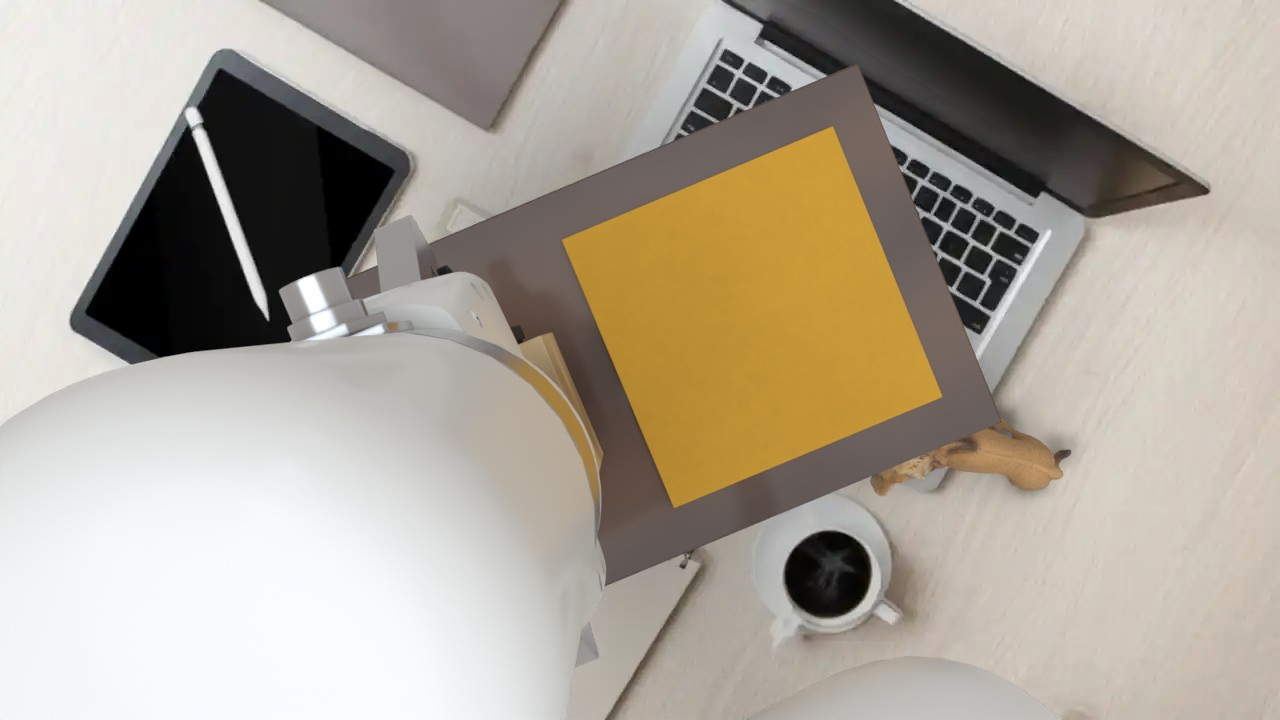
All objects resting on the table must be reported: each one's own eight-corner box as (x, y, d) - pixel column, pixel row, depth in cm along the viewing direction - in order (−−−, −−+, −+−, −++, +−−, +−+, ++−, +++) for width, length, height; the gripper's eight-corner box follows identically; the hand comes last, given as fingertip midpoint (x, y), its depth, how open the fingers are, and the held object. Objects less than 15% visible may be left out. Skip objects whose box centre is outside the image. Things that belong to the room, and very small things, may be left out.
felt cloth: (940, 396, 46) (943, 397, 45) (673, 506, 46) (673, 508, 45) (831, 127, 45) (833, 125, 45) (561, 240, 45) (561, 239, 45)
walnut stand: (870, 381, 72) (1002, 422, 46) (531, 521, 72) (471, 641, 46) (777, 153, 71) (858, 62, 45) (436, 296, 71) (319, 289, 45)
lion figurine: (841, 478, 72) (870, 502, 63) (845, 397, 72) (875, 410, 63) (1065, 489, 72) (1125, 514, 63) (1070, 408, 72) (1132, 422, 63)
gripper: (81, 198, 22) (331, 247, 40) (413, 950, 23) (511, 666, 41) (421, 54, 22) (518, 168, 40) (743, 815, 23) (695, 590, 41)
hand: (514, 420), depth 41 cm, fingers closed on beech block, 5 cm apart
